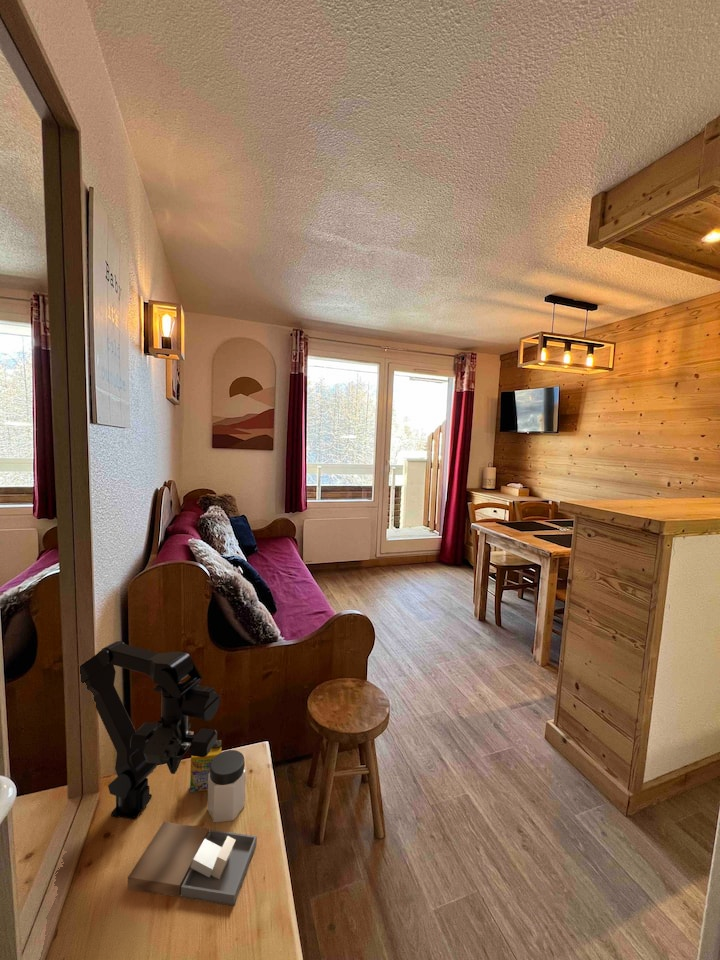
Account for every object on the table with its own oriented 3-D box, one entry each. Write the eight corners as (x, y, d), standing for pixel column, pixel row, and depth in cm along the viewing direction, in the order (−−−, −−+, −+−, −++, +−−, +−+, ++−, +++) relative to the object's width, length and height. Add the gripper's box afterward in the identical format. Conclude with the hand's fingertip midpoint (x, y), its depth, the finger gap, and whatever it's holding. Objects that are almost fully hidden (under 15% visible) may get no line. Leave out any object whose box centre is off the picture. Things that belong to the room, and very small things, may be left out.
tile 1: (190, 867, 80) (193, 859, 80) (201, 846, 85) (204, 838, 85) (209, 877, 80) (212, 869, 80) (220, 855, 84) (223, 847, 84)
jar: (249, 811, 96) (250, 765, 95) (216, 830, 91) (217, 782, 90) (235, 787, 103) (236, 743, 102) (203, 803, 98) (204, 758, 97)
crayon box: (189, 793, 100) (190, 750, 100) (192, 784, 103) (193, 742, 103) (219, 789, 102) (220, 747, 101) (221, 780, 105) (222, 739, 104)
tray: (180, 897, 77) (181, 886, 77) (210, 838, 89) (210, 829, 89) (234, 905, 76) (234, 895, 76) (256, 845, 88) (256, 836, 88)
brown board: (127, 888, 78) (127, 877, 78) (163, 831, 90) (163, 821, 90) (179, 897, 77) (179, 885, 77) (208, 838, 89) (209, 828, 89)
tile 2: (217, 856, 80) (226, 861, 80) (227, 835, 84) (235, 839, 84) (210, 874, 80) (219, 879, 80) (221, 853, 85) (229, 857, 85)
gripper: (112, 728, 84) (112, 797, 85) (194, 738, 82) (193, 807, 83) (146, 697, 95) (145, 758, 96) (218, 705, 93) (217, 767, 94)
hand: (173, 772), depth 92 cm, fingers closed
